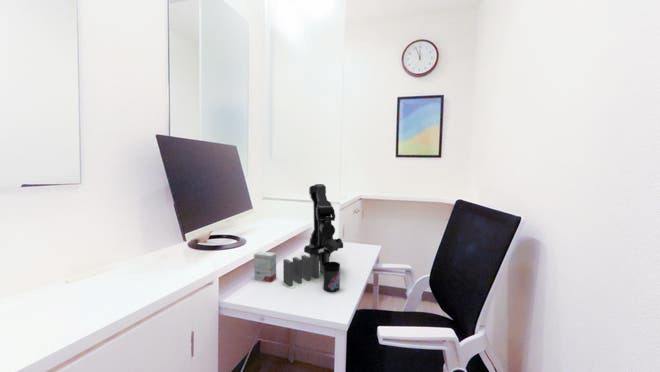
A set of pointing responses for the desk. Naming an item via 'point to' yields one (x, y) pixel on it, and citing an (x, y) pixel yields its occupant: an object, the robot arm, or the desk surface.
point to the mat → (305, 281)
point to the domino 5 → (326, 259)
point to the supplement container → (331, 276)
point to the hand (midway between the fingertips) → (324, 265)
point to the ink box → (265, 266)
